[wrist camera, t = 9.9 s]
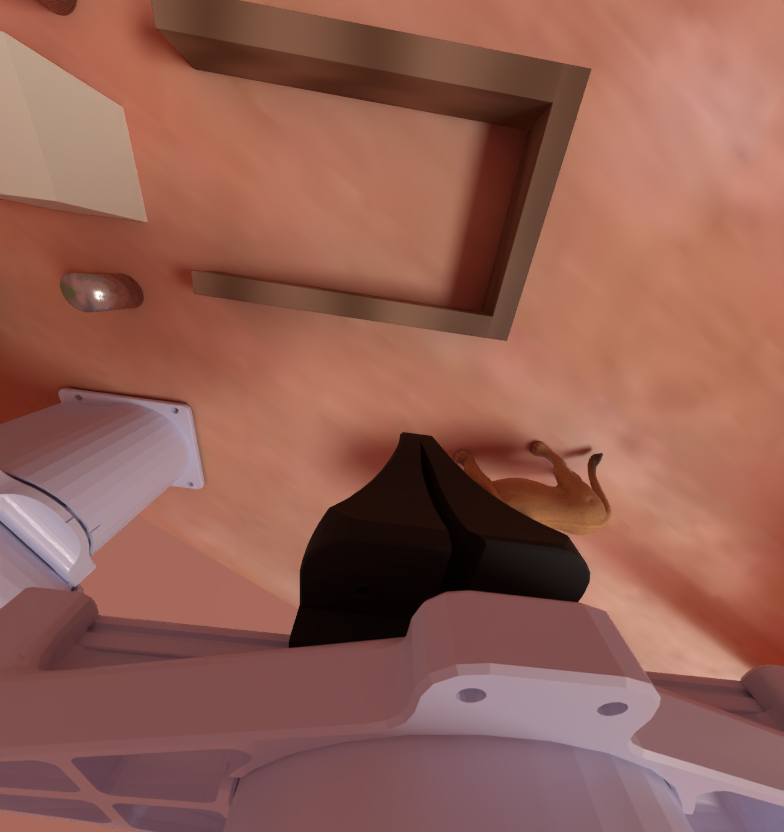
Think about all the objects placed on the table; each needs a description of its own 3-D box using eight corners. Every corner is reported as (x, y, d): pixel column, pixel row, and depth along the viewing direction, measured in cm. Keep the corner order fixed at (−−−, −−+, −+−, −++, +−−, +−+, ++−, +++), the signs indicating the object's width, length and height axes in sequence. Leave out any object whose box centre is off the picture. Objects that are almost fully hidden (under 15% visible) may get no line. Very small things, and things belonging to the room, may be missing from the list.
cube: (62, 211, 17) (-62, 185, 12) (24, 94, 15) (-144, 10, 10) (148, 222, 17) (57, 201, 12) (124, 108, 15) (2, 31, 10)
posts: (115, 305, 19) (67, 309, 16) (20, -59, 12) (-86, -154, 10) (146, 310, 19) (104, 314, 16) (68, -49, 12) (-24, -141, 10)
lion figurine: (424, 505, 26) (436, 608, 18) (411, 456, 23) (418, 549, 15) (595, 474, 24) (698, 574, 16) (599, 419, 22) (720, 502, 14)
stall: (219, 292, 18) (194, 293, 16) (190, 33, 13) (148, -18, 11) (493, 334, 19) (506, 341, 17) (560, 102, 14) (591, 68, 12)
